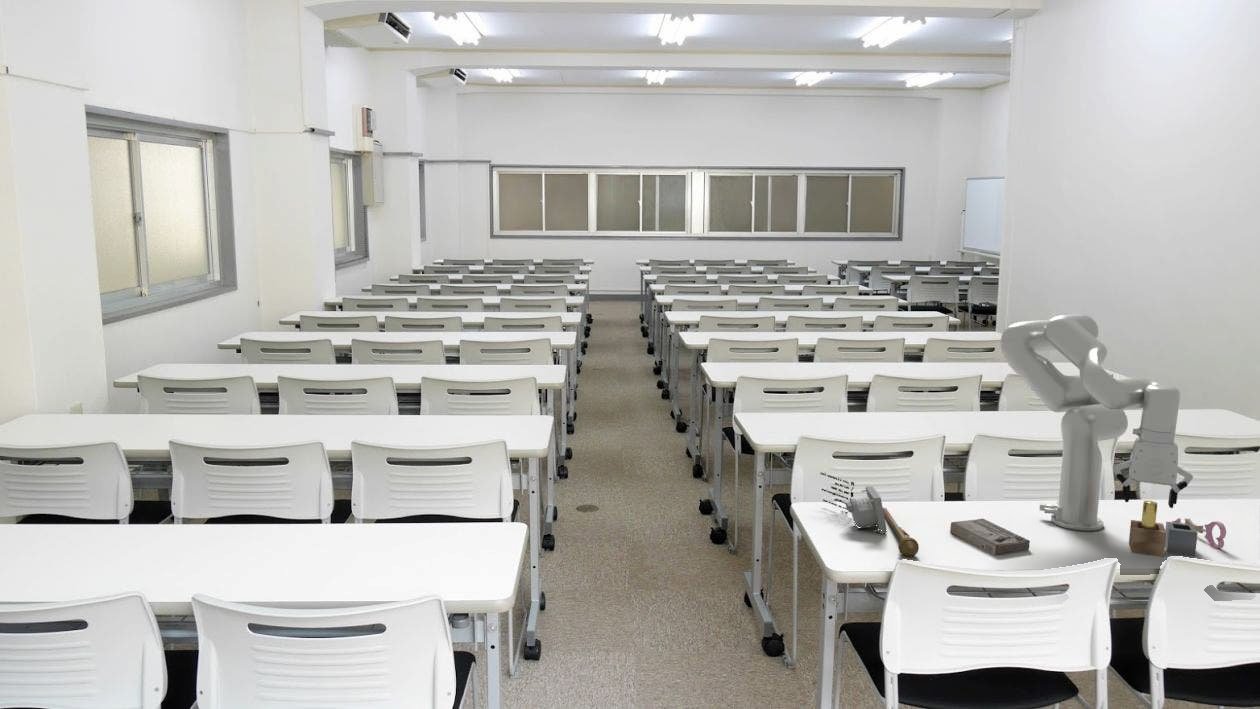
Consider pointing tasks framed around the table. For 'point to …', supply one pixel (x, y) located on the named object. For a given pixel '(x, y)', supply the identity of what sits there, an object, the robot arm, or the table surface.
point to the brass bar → (1149, 515)
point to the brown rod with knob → (902, 537)
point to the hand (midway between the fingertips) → (1148, 503)
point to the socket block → (1180, 538)
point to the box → (989, 536)
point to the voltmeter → (863, 507)
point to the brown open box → (1147, 539)
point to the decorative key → (1209, 531)
